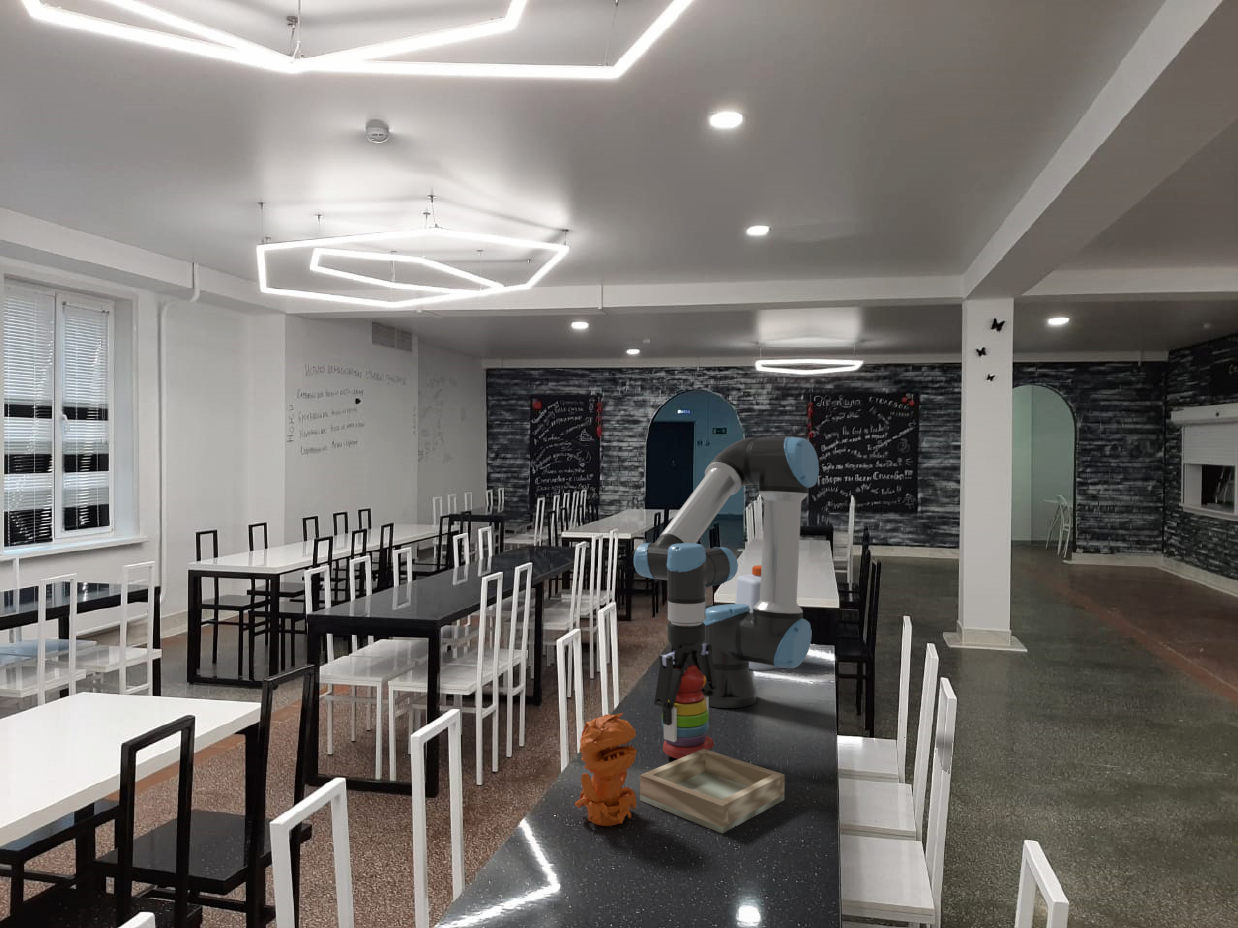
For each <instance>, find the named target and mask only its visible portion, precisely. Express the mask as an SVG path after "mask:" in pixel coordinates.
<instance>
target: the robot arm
mask: <svg viewBox="0 0 1238 928" xmlns="http://www.w3.org/2000/svg"><path fill="white" fill-rule="evenodd" d="M819 465H820V464H819V459H818V455H817V451H816V450H815V447H814V446H813V444H812V443H811V442H810V440H807V439H806V438H803V437H794V436H793V437H792V436H784V437H783V436H780V437H779V436H776V437H774V436H773V437H772V436H771V437H769V436H768V437H757V436H756V437H745V438H742V439H740V440H738V441H735V442H734V443H732V444H730V445H728V446H727V447H726V448H724V449H722V451H721V452H719V453H718V454H717V455H716V456H715V457H714V458H713V459H712V460H711V461H710V462H709V464H708V465H707V467H706V468H705V470H704V477H703V479H702V480H700V483H699V484H698V485H697V486H696V488H695V489H694V491H693V492H692V493H691V494H690V495H689V497H688V498H687V500H686V501H685V502H684V504H682V507H681V508H680V509H679V510H678V511H677V513H676V514H675V515H674V517H673V518H672V519H671V520H670V522H669V523H668V525H667V526H666V527H665V529H664V530H663V531H662V532H661V534H660V535H659V537H657V539H656V540H655V541H654V543H653V542H646V543H645V542H644V543H641V544H640V545H638V547H637V548H636V549H635V552H634V555H633V566H634V569H635V572H636V573H637V574H638V575H639V576H641V577H642V578H643V577H644V578H649V579H653V580H660V581H661V580H663V581H667V620H668V621H669V622H668V623H667V640H668V642H669V643H670V651H669V653H667V654H664V653H661V654H659V656H658V657H659V659H658V660H659V670H658V675H657V676H658V677H657V683H656V689H655V694H654V695H655V696H654V701H653V702H654V703H653V704H654V705H655V706H656V707H661V709H662V711H661V723H662V722H663V724H664V730H663V739H664V740H665V739H666V740H669V741H672V742H676V741H677V708H675V707H674V704H675V700H676V697H677V694H678V691H679V687H680V684H681V680H682V676H683V675H684V671H685V674H686V671H687V668H688V666H690V665H696V666H697V667H698V669H699V670H700V671H701V673H702V674H703V675H704V676H705V677H706V679H707V681H706V684H705V686H704V687H703V688H702V690H701V692H702V693H703V695H704V698H705V701H706V706H707V710H708V715H709V710H710V707H711V708H712V707H713V708H721V709H739V708H745V707H748V706H752V705H753V704H755V703H756V702H757V691H756V688H755V685H754V681H753V678H752V675H751V674H752V673H751V671H750V669H749V662H754V663H760V664H766V665H771V666H775V667H777V668H779V669H784V668H785V669H795V668H797V667H799V666H800V665H802V663H803V662H804V661H805V658H806V657H807V655H808V652H809V650H810V646H811V642H812V635H813V634H812V633H813V632H812V628H811V623H810V622H809V620H807V619H805V618H803V615H804V611H803V609H802V608H801V607H800V605H799V604H798V602H797V600H798V583H799V582H798V581H799V560H800V558H799V556H800V539H801V538H800V537H801V536H800V535H801V517H802V515H801V513H802V512H801V511H802V501H803V500H804V499H805V498H807V497H808V496H809V488H812V487H814V486H816V484H817V482H818V478H819V472H820V468H819V467H820V466H819ZM752 485H753V486H758V493H759V494H760V496H761V497H762V498H763V500H764V504H763V505H764V510H763V512H764V513H763V526H762V527H763V529H762V548H761V549H762V551H761V552H762V553H761V565H762V567H761V588H760V600H759V602H758V603H757V604H756V605H754V606H753V613H750V608H749V606H748V605H746V604H735V603H730V604H720V605H719V604H718V605H713V606H710V607H707V608H706V589H707V588H710V587H714V586H717V585H724V584H725V583H726V582H729V581H731V580H732V579H733V578H734V577H735V576H736V575H737V572H738V569H739V564H738V559H737V556H736V554H735V553H734V552H733V551H732V550H731V549H729V548H727V547H723V546H720V547H717V546H714V547H712V548H706V547H704V545H703V544H699V543H697V542H698V541H699V540H700V539H701V537H702V536H703V534H704V533H705V532H706V530H707V529H708V528H709V526H710V525H711V523H712V522H713V521H714V519H715V517H717V515H718V514H719V512H720V510H721V509H722V508H723V507H724V505H725V504H726V502H727V501H728V499H729V498H730V497H731V496H734V495H736V494H737V493H738V492H739V491H740V490H741V489H742V488H743V487H745V486H752ZM675 667H677V668H679V669H680V670H679V669H675ZM780 667H782V668H780ZM668 700H669V702H668ZM662 716H663V717H662ZM662 718H663V719H662ZM708 721H710V720H708ZM708 729H709V723H708Z"/></svg>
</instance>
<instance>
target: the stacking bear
mask: <svg viewBox="0 0 1238 928" xmlns="http://www.w3.org/2000/svg"><path fill="white" fill-rule="evenodd" d="M675 669H679V668H677V667H675ZM679 670H680V669H679ZM706 681H707V679H706V677H705V676H704V675H703V674H702V673H701V671H700V670H699V669H698V667H697V666H696V665H690V666H688V668H687V671H686V674H685V671H684V675H683V676H682V680H681V684H680V687H679V691H678V694H677V697H676V700H675V704H674V707H675V708H677V741H676V742H672V741H669V740H666V739H664V741H663V744H662V751H663V753H664V754H665V755H667V756H668V757H672V758H675V759H676V760H678V759H680V758H683V757H685V756H687V755H690V754H692V753H695V752H697V751H699V750H702V749H707V750H711V749H712V748H714V746H715V745H714V740H713V739H712V738H711V737H709V736H707V733H708V729H709V728H708V723H709V721H710V720H709V718H710V716H709V715H708V710H707V706H706V701H705V698H704V695H703V693H702V692H701V690H702V688H703V687H704V686H705V684H706ZM668 702H669V700H668ZM662 717H663V716H662V715H661V720H662V719H663V718H662ZM708 720H709V721H708ZM661 727H662V731H664V724H663V722H662V721H661Z"/></svg>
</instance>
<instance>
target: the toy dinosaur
mask: <svg viewBox="0 0 1238 928" xmlns="http://www.w3.org/2000/svg"><path fill="white" fill-rule="evenodd" d="M623 715H624V712H621V713H619V712H618V713H616V714H611V713H608V714H604V715H602V716H599V717H596V718H593V719H592V720H590V721H587V722H585V724H584V726H583V730H582V731H581V737H580V741H579V742H580V746H579V750H578V751H579V752H580V754H581V759H580V760H581V761H583V762H584V766H583V769H586V770H587V771H589V773H590V774H592V773H593V774H592V776H590V774H589V773H587V772H583V773H582V775H581V776H580V781H581V786H582V789H581V792H580V794H579V799H578V800H577V801H574V806H575V807H577V809H580V808H582V807H583V806H584V807H585V808H586V810H587V816H588V817H587V818H586V819H587V820H588V821H589V822H591V823H592V824H594V825H598V826H602V827H606V826H607V827H608V826H609V827H610V826H617V825H619V824H623V822H624V820H625V817H626V816H627V818H629V819H631V818H632V813H631V808H632V809H633V810H636V809H637V797H636V794H635V793H636V791H634V790H633V789H632V788H630V787H629V786H625V785H624V784H625V783H626V778H627V776H628V770H629V769H630V768H631V767H632V765H633V763H634V762H636V755H637V751H638V750H637V749H636V748H635V747H633V744H630V741H631V740H633V739H635V738H636V733H637V731H636V729H635V728H634V727H633V726H632V724H630V723H629V721H628V720H626V719H621V717H622V716H623ZM623 744H624V745H623Z"/></svg>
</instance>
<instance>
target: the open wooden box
mask: <svg viewBox="0 0 1238 928" xmlns="http://www.w3.org/2000/svg"><path fill="white" fill-rule="evenodd" d="M639 801H640V802H643V803H645V804H648V805H650V806H654V807H655V808H657V809H658V808H659V809H660V810H663V811H666V812H668V813H670V814H674V815H676V816H678V817H681V818H683V819H686V820H688V821H690V822H693V823H694V824H698V825H700V826H702V827H705V828H707V829H710V830H713V831H715V832H717V833H719V834H724V833H726V832H728V831H729V830H732V829H734V828H736V827H737V826H739V825H741V824H742V823H745V822H746V821H749V820H750V819H752V818H754V817H756V816H757V815H759V814H761V813H763V812H765V811H767V810H768V809H771V808H772V807H774V806H776V805H778V804H779V803H781V802H783V801H785V774H784V773H781V772H778V771H775V770H771V769H768V768H765V767H763V766H760V765H756V764H753V763H750V762H748V761H747V762H746V761H743V760H740V759H738V758H735V757H731V756H728V755H726V754H725V755H724V754H721V753H719V752H716V751H713V750H711V749H709V750H707V749H702V750H699V751H697V752H695V753H692V754H690V755H687V756H685V757H683V758H680V759H675V760H673V761H670V762H669V763H666V764H663V765H661V766H659V767H657V768H654V769H652V770H649V771H647V772H643V773H642V774H640V776H639ZM735 826H736V827H735Z"/></svg>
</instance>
